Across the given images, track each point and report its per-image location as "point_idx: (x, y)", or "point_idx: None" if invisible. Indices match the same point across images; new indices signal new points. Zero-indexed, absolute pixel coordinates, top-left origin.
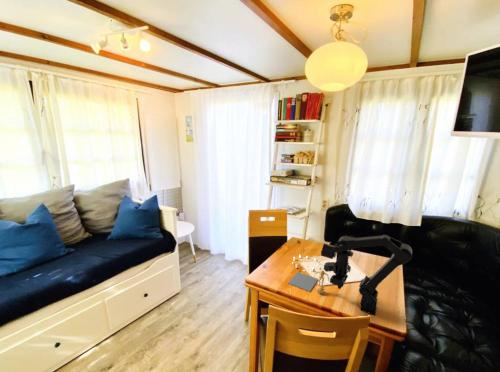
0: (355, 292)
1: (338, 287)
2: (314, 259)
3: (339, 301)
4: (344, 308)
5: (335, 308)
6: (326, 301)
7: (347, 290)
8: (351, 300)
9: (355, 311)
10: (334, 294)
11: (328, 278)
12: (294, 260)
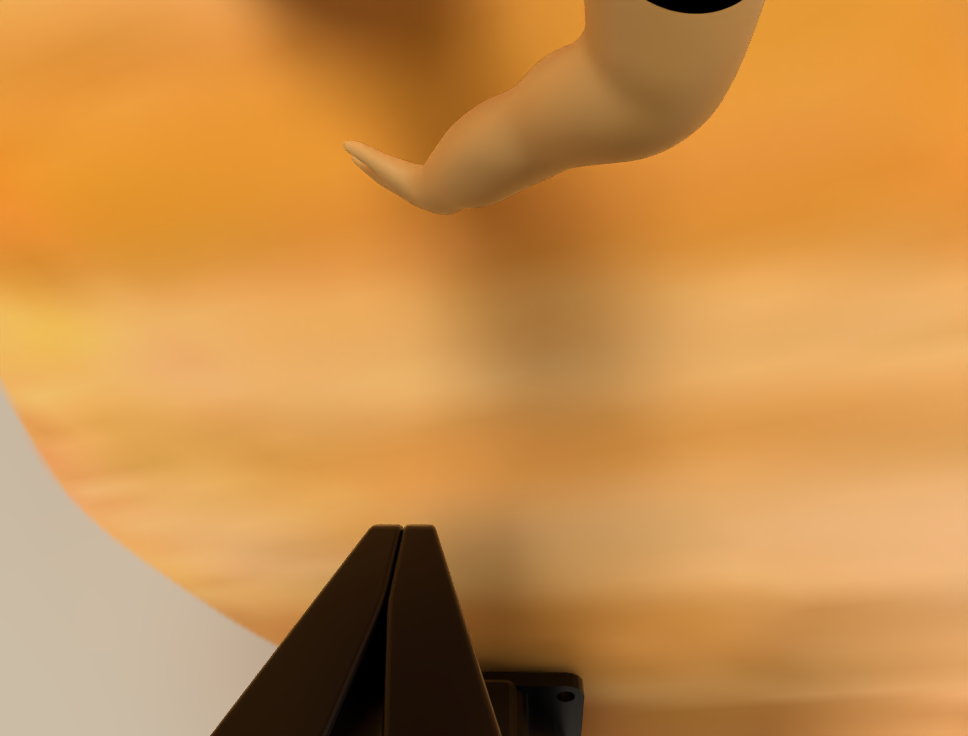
0: (885, 553)
1: (342, 583)
2: None
3: (328, 375)
4: (186, 492)
5: (17, 364)
6: (44, 105)
7: (902, 424)
8: (541, 540)
9: (268, 623)
10: (534, 204)
11: (438, 177)
12: None
